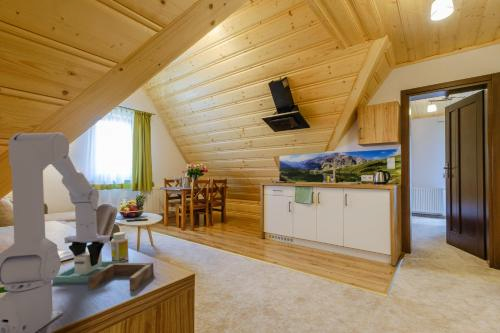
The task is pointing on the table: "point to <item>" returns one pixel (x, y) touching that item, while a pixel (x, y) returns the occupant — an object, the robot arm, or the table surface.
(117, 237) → the supplement bottle
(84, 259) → the cream rectangular block
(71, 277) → the tray
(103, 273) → the bay
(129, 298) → the table surface
